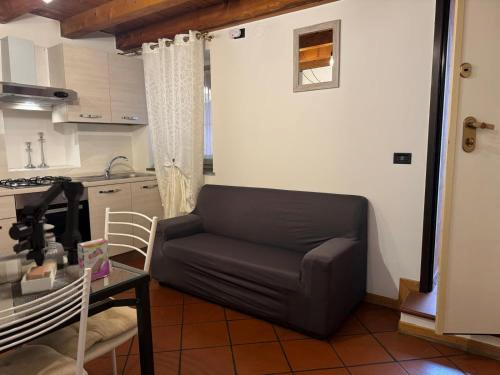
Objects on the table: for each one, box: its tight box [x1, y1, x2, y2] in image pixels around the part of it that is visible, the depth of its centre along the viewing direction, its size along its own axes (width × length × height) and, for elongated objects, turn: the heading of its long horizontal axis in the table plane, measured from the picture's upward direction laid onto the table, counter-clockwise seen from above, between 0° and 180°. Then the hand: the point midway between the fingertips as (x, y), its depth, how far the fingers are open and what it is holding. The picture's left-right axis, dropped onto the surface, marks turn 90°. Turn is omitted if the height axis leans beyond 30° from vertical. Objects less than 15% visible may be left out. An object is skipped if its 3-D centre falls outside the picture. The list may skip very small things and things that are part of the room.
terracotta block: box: [28, 266, 46, 280], centre depth 143 cm, size 5×5×2 cm
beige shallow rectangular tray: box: [26, 258, 58, 281], centre depth 152 cm, size 10×16×4 cm, turn 25°
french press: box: [43, 215, 58, 256], centre depth 181 cm, size 10×12×25 cm
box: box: [20, 269, 55, 295], centre depth 140 cm, size 10×11×5 cm
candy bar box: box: [77, 238, 110, 281], centre depth 146 cm, size 11×5×16 cm, turn 141°
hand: (39, 269), depth 146 cm, fingers closed
